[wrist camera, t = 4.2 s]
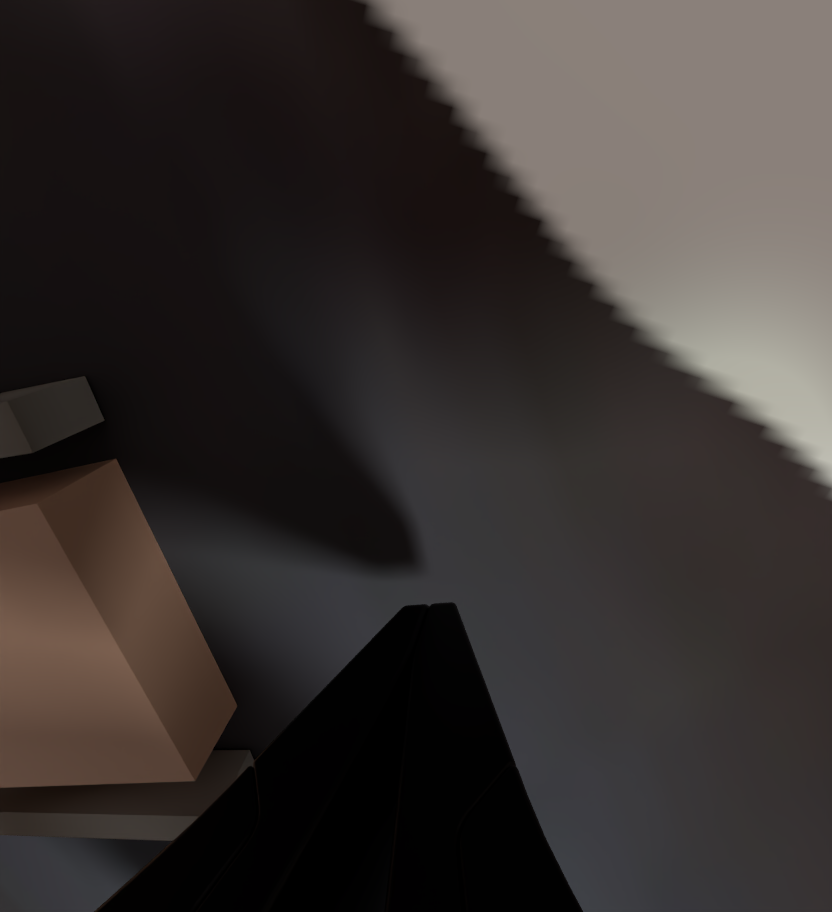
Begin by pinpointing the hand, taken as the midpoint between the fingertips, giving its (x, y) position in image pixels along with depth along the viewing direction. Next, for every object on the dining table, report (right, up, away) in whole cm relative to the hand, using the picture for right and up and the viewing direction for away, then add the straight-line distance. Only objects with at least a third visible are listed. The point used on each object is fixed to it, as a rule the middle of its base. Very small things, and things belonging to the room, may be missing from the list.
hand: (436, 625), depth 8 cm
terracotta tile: (-11, -1, +4) cm, 11 cm away
